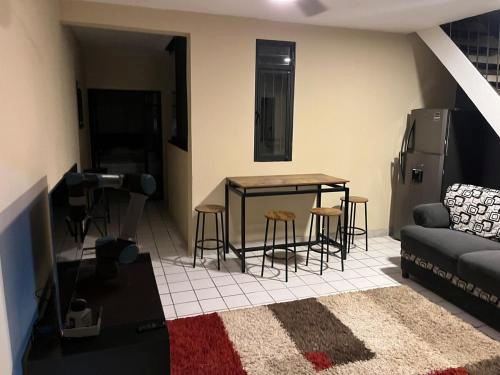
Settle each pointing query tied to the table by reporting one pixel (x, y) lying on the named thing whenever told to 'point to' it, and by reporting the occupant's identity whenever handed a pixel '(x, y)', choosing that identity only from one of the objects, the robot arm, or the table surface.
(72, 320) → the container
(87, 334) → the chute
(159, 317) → the table surface
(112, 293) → the table surface
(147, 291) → the table surface
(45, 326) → the table surface
